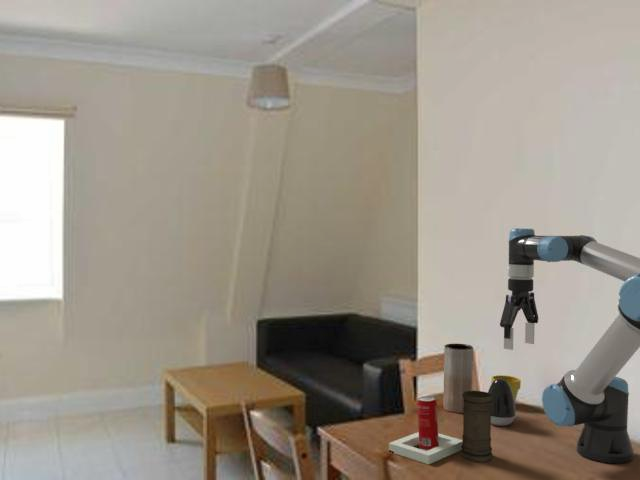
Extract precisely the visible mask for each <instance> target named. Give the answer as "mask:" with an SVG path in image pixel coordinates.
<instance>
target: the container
mask: <svg viewBox="0 0 640 480" xmlns="http://www.w3.org/2000/svg"><path fill="white" fill-rule="evenodd" d="M463 398H464V399H463V401H464V407H463V409H464V413H462V415H463V418H462V419H463V423H462V425H463V429H462V440H463V444H462V446H461V448H462V450H460V455H461V457H462V458H464V460H465V459H466V460H469V461H473V462H481V463H482V462H488V461H491V460H492V459H493V452H492V451H493V449H492V437H491V435H492V433H491V428H492V427H491V426H492V425H491V424H492V423H491V403H492V401H491V400H492V399H493V396H492V395H491V394H490V393H488V391H482V390H472V391H466V392H464V393H463Z"/></svg>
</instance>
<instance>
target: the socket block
mask: <svg viewBox="0 0 640 480" xmlns="http://www.w3.org/2000/svg"><path fill="white" fill-rule="evenodd" d="M438 439H439V446H438V447H435V448H433V449H430V450H428V451H425V450H422V449H420V448H417V447H416V446H419V431H418V432H414V433H413V434H409V435H407V436H403V437H402V438H398V439H396V440H393V441H390V442H389V443H388V451H389V450H391V451H393V452H394V453H393V454H395V455H398V456H401V457H404V458H408V459H411V460H413V461H416V462H420V463H423V464H426V465H431V464H433V463H435V462H437V461H440V460H442V459H444V458H446V457H449V456H451V455H453V454H456V453H458V452H461V450H462V448H461V446H462V444H463V439H460V438H456V437H453V436H449V435H446V434H442V433H439V432H438Z"/></svg>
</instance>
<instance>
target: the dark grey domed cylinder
mask: <svg viewBox="0 0 640 480" xmlns="http://www.w3.org/2000/svg"><path fill="white" fill-rule="evenodd" d="M506 380H507V379H506V378H504V379H502V378H498V379H496V380H494V381H493V383H492V384H490V386H489V388H488V391H487V393H490V394H491V395H492V396H493V399H492V400H491V401H492V403H491V424H492V425H494V426H497V427H505V426H509V425H510V424H512V423H513V421H514V420H515V417H516V416H517V410H516V401H514V397H513V393H512V390H511V387H510V385H509V383H508V382H507V381H506Z"/></svg>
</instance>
